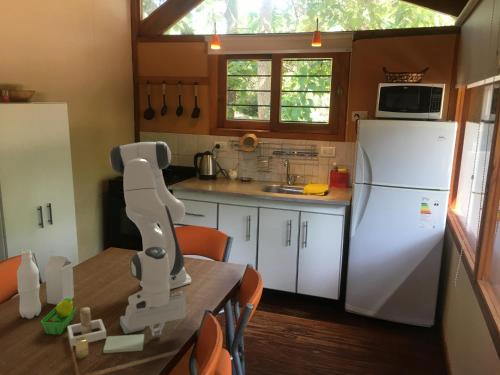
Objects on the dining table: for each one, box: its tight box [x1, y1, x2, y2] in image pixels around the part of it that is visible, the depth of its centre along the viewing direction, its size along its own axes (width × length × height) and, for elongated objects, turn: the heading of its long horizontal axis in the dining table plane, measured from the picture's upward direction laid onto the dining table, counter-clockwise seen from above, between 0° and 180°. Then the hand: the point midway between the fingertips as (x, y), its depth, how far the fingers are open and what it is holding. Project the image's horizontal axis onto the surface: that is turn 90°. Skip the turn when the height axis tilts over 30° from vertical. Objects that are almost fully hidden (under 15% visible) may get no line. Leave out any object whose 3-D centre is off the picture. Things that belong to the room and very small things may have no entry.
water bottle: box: [16, 249, 42, 320], centre depth 154 cm, size 7×7×25 cm
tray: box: [67, 318, 107, 350], centre depth 142 cm, size 11×9×4 cm
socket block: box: [119, 315, 146, 335], centre depth 149 cm, size 7×7×4 cm
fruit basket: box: [40, 298, 77, 335], centre depth 147 cm, size 11×9×11 cm
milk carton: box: [44, 254, 75, 306], centre depth 166 cm, size 7×7×19 cm
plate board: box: [103, 333, 145, 354], centre depth 138 cm, size 12×8×2 cm, turn 100°
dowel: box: [79, 306, 93, 335], centre depth 141 cm, size 3×3×10 cm
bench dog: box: [75, 337, 89, 359], centre depth 131 cm, size 4×4×6 cm
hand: (156, 334), depth 143 cm, fingers closed
